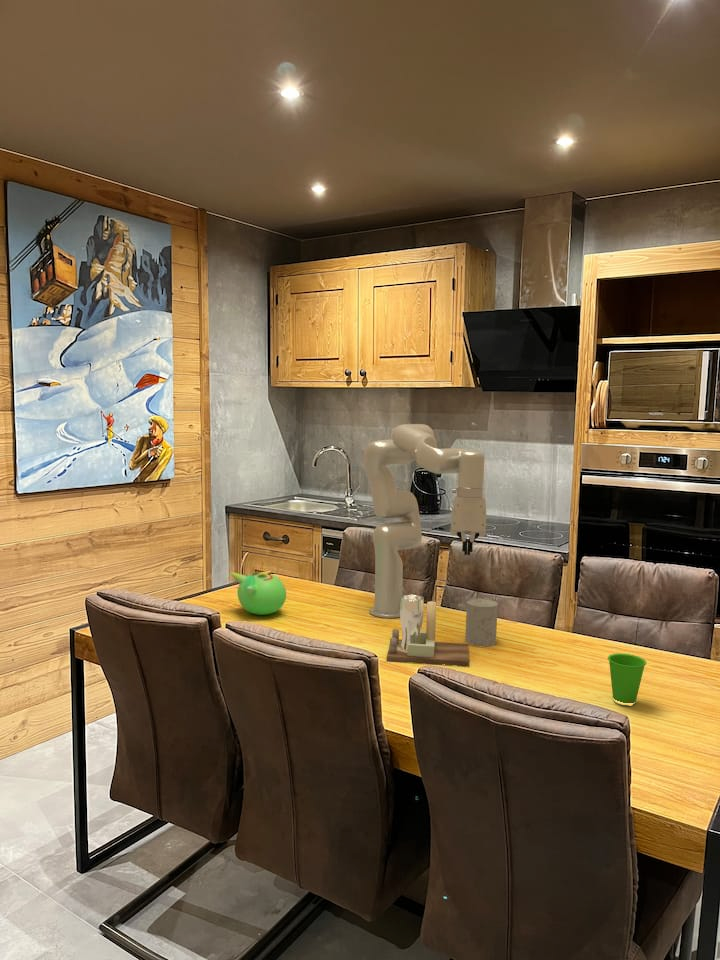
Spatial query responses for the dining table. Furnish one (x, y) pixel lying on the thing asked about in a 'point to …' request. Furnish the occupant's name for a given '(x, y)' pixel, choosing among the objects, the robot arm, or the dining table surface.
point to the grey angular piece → (426, 635)
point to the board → (442, 655)
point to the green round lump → (260, 592)
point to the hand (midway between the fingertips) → (467, 554)
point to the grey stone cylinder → (481, 622)
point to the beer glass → (411, 619)
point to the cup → (625, 676)
